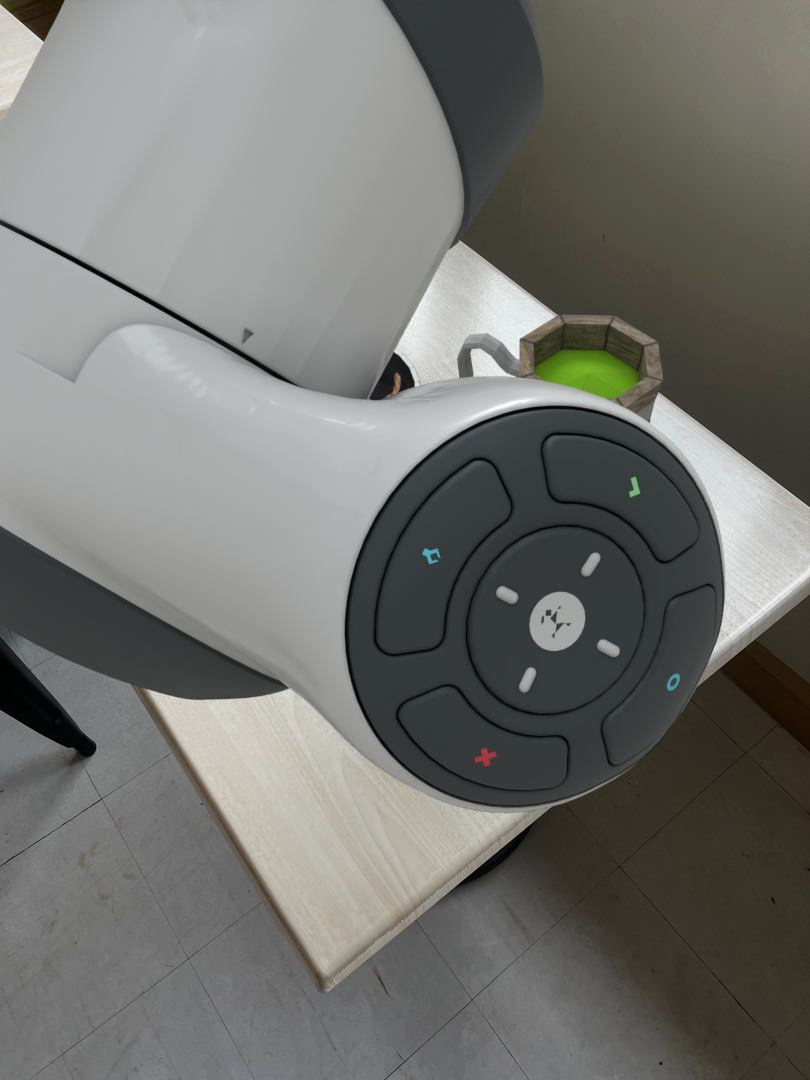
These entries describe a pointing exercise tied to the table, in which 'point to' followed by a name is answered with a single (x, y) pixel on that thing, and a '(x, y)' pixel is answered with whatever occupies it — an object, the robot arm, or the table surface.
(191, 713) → the table surface
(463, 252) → the table surface
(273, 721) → the table surface
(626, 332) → the mug
